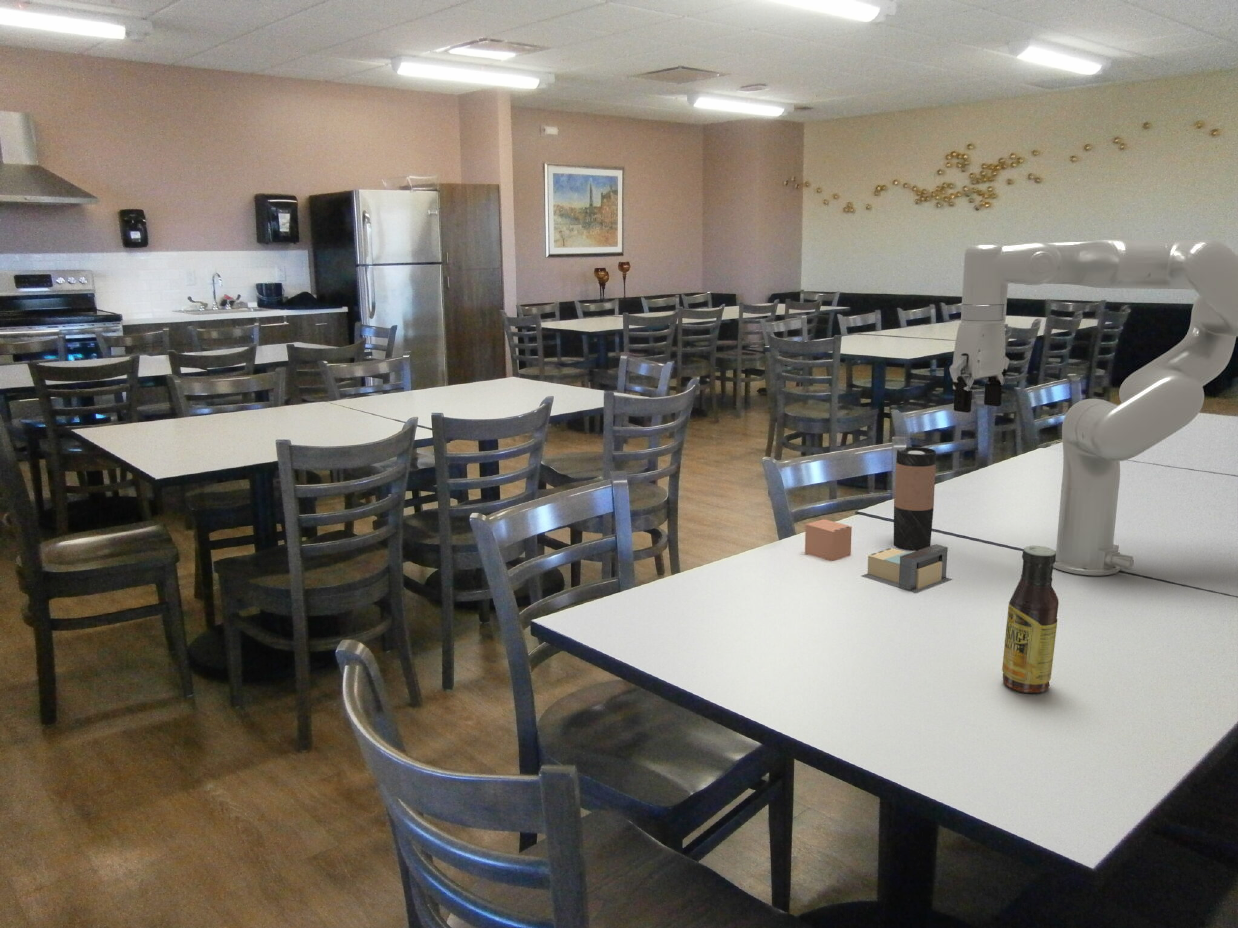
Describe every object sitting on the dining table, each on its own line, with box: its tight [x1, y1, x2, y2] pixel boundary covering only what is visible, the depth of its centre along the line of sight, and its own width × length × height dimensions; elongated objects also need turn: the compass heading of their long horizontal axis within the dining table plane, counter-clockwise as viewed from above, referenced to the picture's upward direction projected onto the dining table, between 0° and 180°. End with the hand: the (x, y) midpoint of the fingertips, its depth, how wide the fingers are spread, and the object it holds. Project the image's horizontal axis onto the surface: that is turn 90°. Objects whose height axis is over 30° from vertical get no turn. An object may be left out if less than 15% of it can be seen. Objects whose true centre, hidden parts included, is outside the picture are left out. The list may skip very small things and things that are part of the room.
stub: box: [804, 518, 853, 562], centre depth 187 cm, size 7×6×6 cm
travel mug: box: [893, 446, 937, 552], centre depth 189 cm, size 8×8×20 cm
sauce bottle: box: [1001, 545, 1060, 694], centre depth 128 cm, size 7×6×20 cm
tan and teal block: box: [867, 547, 942, 589], centre depth 173 cm, size 11×7×4 cm, turn 37°
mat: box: [861, 572, 953, 594], centre depth 173 cm, size 12×11×1 cm
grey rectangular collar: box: [898, 544, 949, 592], centre depth 170 cm, size 2×11×6 cm, turn 128°
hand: (977, 408), depth 173 cm, fingers open, 9 cm apart
